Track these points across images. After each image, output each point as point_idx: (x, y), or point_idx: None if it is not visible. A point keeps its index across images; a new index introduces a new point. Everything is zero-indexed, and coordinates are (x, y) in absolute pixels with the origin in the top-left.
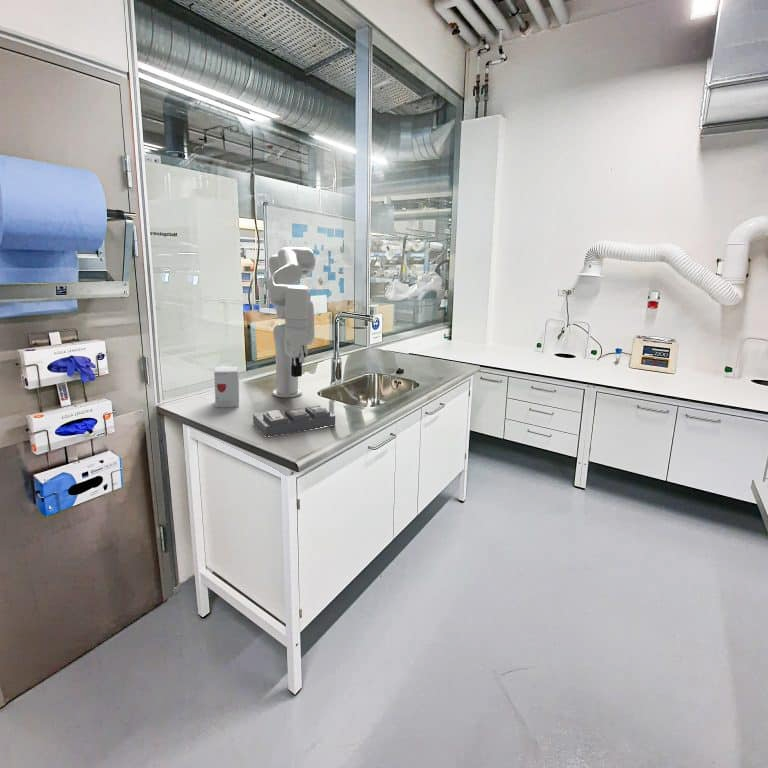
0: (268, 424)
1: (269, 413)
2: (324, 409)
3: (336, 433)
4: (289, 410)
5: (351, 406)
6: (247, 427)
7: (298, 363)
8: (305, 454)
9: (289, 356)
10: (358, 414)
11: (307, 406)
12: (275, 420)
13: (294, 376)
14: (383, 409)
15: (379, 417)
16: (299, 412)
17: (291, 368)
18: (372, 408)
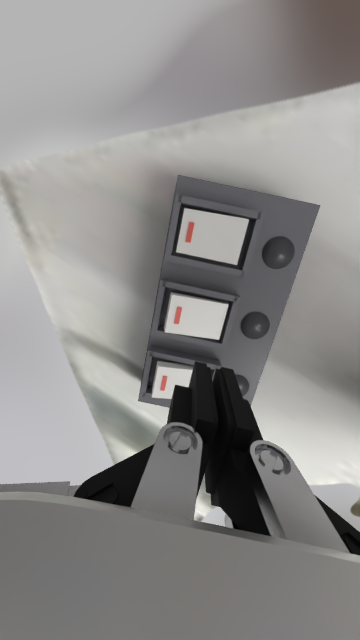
0: (190, 194)
1: (229, 218)
2: (152, 390)
3: (101, 356)
4: (231, 310)
5: None
6: (292, 183)
7: (117, 474)
8: (23, 213)
9: (294, 541)
10: None
11: (254, 391)
12: (173, 211)
13: (193, 369)
14: None
15: None
16: (168, 311)
17: (238, 402)
18: None
